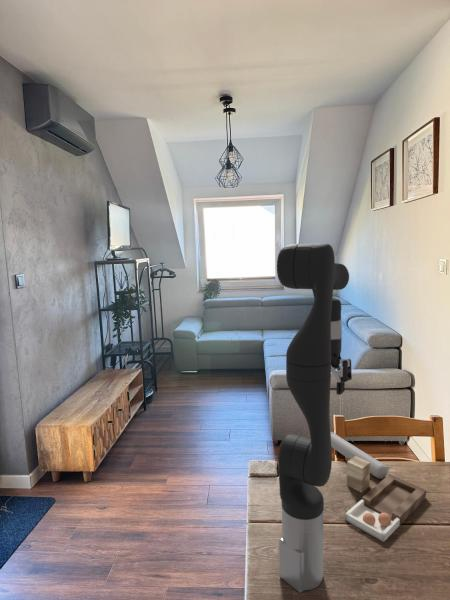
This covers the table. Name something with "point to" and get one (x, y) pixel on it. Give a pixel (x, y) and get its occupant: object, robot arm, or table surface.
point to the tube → (358, 455)
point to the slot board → (394, 498)
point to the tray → (376, 530)
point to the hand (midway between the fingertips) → (326, 389)
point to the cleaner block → (358, 474)
